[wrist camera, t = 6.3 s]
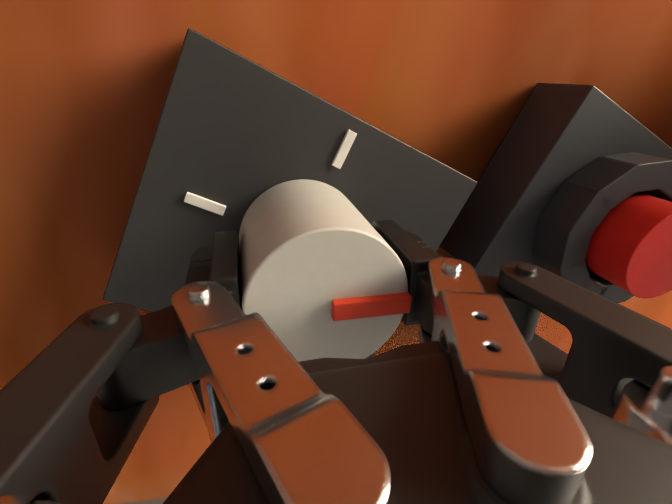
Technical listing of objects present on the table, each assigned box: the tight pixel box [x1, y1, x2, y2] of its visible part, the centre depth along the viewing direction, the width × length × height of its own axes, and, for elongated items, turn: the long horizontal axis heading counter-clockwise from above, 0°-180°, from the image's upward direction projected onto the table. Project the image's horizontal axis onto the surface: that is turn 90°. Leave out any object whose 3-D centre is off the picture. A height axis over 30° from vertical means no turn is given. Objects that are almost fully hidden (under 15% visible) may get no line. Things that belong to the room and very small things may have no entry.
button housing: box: [440, 83, 672, 303], centre depth 19 cm, size 10×9×5 cm
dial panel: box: [103, 28, 477, 359], centre depth 16 cm, size 12×10×3 cm
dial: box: [239, 179, 412, 362], centre depth 13 cm, size 5×5×5 cm
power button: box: [586, 194, 672, 298], centre depth 16 cm, size 4×4×2 cm
